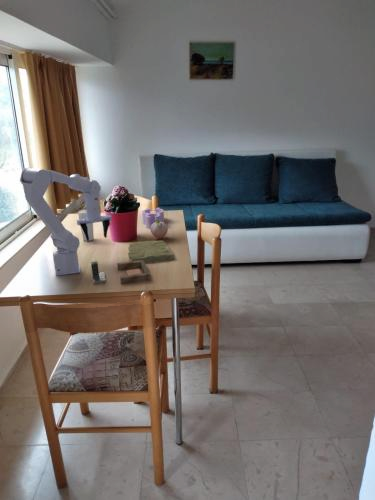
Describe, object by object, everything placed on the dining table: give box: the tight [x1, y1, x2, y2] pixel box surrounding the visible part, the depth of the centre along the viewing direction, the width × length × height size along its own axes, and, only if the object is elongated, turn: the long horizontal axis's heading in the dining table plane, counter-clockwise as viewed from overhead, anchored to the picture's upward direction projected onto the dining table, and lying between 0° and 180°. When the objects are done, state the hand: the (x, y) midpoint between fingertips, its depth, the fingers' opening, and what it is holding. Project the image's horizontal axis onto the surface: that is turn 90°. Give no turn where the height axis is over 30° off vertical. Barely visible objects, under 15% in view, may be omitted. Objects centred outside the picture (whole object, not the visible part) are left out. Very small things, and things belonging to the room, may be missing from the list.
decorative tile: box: [127, 239, 174, 264], centre depth 168 cm, size 19×20×4 cm
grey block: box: [90, 260, 106, 285], centre depth 144 cm, size 4×8×7 cm, turn 15°
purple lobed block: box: [141, 207, 165, 230], centre depth 212 cm, size 20×12×7 cm, turn 5°
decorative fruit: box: [149, 220, 168, 240], centre depth 186 cm, size 9×8×10 cm
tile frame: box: [116, 260, 151, 285], centre depth 148 cm, size 11×15×2 cm
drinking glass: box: [77, 209, 95, 242], centre depth 187 cm, size 7×7×15 cm
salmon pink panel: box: [126, 268, 142, 276], centre depth 148 cm, size 5×5×2 cm
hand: (96, 238), depth 162 cm, fingers open, 7 cm apart
